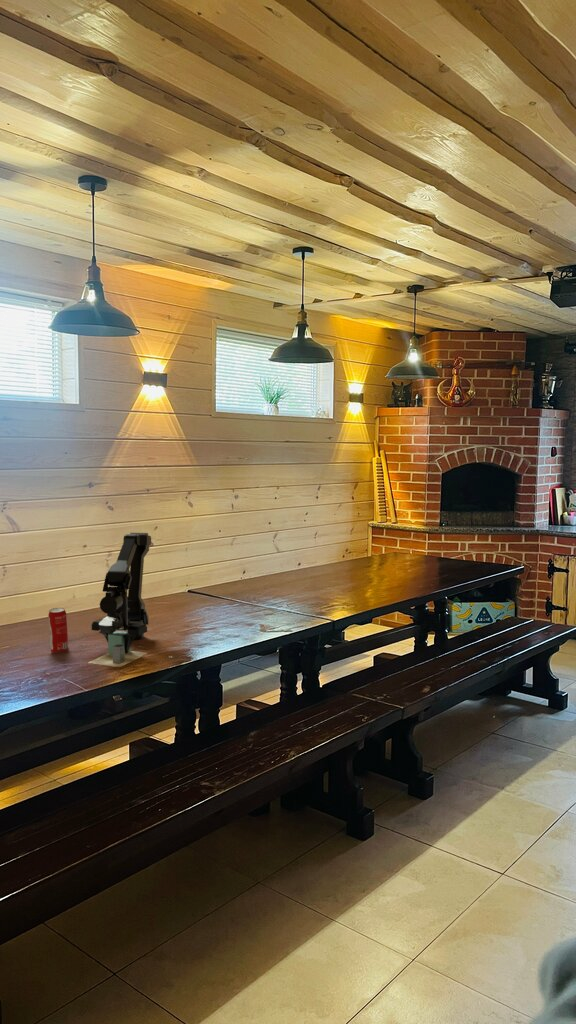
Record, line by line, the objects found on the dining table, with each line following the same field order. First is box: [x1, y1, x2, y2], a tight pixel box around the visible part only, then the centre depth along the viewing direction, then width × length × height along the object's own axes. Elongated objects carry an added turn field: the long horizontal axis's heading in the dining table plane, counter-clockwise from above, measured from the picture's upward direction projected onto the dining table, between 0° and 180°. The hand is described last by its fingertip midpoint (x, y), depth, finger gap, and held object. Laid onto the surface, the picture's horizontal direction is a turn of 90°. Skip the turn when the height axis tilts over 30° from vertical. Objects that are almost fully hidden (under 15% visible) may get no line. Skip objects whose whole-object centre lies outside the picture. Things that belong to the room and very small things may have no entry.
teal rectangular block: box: [107, 630, 131, 654], centre depth 239 cm, size 5×5×7 cm
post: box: [113, 644, 125, 664], centre depth 229 cm, size 3×3×6 cm
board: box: [87, 650, 148, 668], centre depth 234 cm, size 16×12×1 cm
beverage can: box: [47, 607, 69, 654], centre depth 242 cm, size 6×6×15 cm
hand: (119, 651), depth 240 cm, fingers open, 5 cm apart
